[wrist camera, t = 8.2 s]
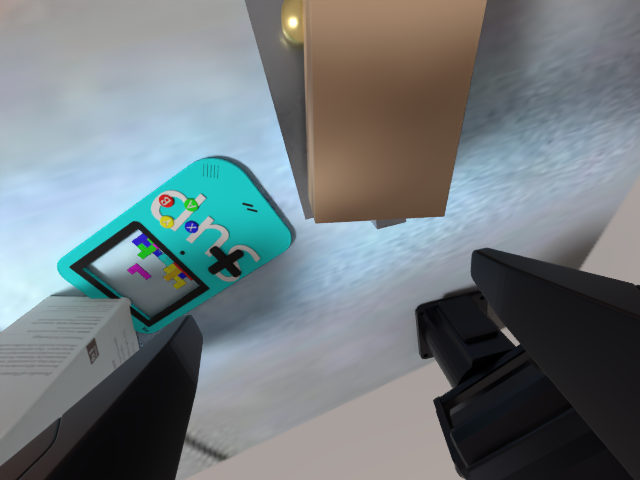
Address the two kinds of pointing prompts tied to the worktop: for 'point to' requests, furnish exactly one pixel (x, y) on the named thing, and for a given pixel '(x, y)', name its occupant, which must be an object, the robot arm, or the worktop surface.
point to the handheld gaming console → (188, 237)
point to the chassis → (288, 82)
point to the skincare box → (58, 361)
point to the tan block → (385, 104)
